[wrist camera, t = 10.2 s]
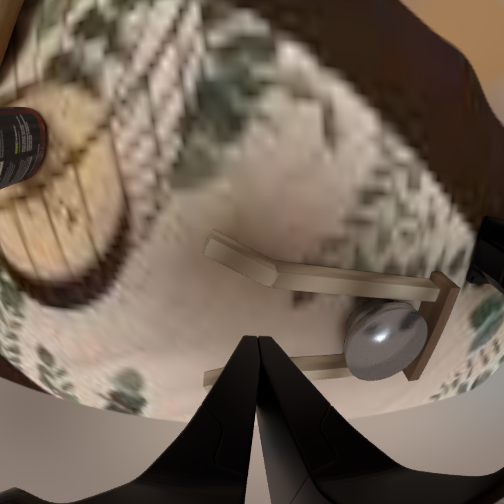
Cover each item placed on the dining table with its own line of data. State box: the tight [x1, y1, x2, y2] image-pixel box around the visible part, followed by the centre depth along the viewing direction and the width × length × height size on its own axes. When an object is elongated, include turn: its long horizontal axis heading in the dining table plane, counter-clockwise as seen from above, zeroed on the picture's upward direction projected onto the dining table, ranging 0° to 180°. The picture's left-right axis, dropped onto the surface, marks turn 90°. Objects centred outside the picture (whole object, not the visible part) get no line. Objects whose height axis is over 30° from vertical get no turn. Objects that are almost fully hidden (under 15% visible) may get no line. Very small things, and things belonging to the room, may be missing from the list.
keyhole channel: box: [202, 229, 460, 393], centre depth 22 cm, size 20×14×3 cm
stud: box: [343, 297, 427, 381], centre depth 22 cm, size 7×7×4 cm
